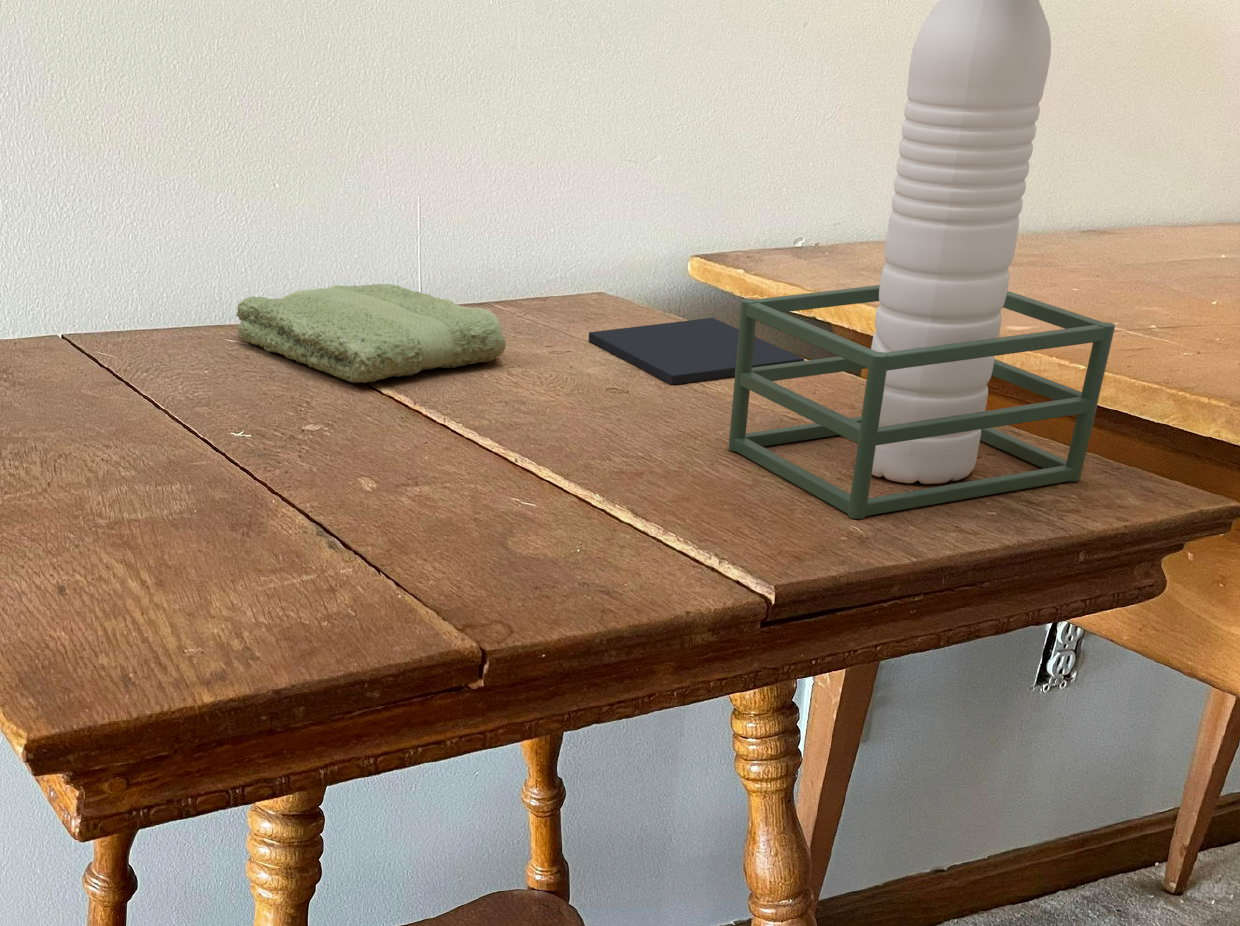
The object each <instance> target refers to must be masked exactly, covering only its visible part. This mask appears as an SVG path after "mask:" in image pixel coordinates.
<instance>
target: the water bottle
mask: <svg viewBox="0 0 1240 926" xmlns="http://www.w3.org/2000/svg"><path fill="white" fill-rule="evenodd" d="M1051 37H1052V36H1051V31H1050V26H1049V23H1048V19H1047V17H1046V15H1045V12H1044V10H1043V6H1042V4H1041V2H1040V0H938V1H937V2H936V4H935V5H934V7H933V8H932V10H931V11H930V12H929V14H928V15H927V17H926V19H925V20H924V22H923V23H922V24H921V26H920V29H919V30H918V33H917V35H916V38H915V39H914V43H913V47H912V50H911V54H910V55H911V56H910V61H909V68H908V80H907V89H906V97H907V101H906V102H905V105H904V112H903V114H904V118H905V119H904V120H903V122H902V125H901V135H902V139H901V140H900V142H899V147H898V154H899V155H900V156H899V158H898V159H897V162H896V172H897V175H896V176H895V178H894V184H893V189H894V193H893V196H892V198H891V208H892V211H891V213H890V214H889V219H888V225H887V230H886V236H885V244H884V259H885V264H883V267H882V270H881V274H880V281H879V285H880V287H879V301H878V302H879V305H878V307H877V308H876V312H875V317H874V327H875V332H874V333H873V336H872V340H871V347H870V349H872V350H874V351H877V352H884V353H885V352H893V351H901V350H908V349H916V348H923V347H931V346H939V345H946V344H954V343H961V342H969V341H977V340H984V339H992V338H999V337H1000V334H1001V327H1002V320H1003V319H1002V313H1001V311H1002V309H1003V306H1004V303H1005V299H1006V295H1007V291H1009V290H1008V289H1009V283H1010V271H1009V268H1010V266H1011V264H1012V263H1013V260H1014V257H1015V251H1016V246H1017V242H1018V241H1017V240H1018V234H1019V228H1020V227H1019V226H1020V217H1019V215H1020V214H1021V212H1022V209H1023V203H1024V201H1023V198H1022V197H1024V195H1025V193H1026V188H1027V181H1026V178H1027V177H1028V175H1029V172H1030V162H1029V160H1030V159H1031V157H1032V155H1033V150H1034V144H1033V141H1034V140H1035V138H1036V135H1037V134H1036V133H1037V125H1036V122H1037V121H1038V119H1039V117H1040V111H1041V107H1040V102H1041V101H1042V99H1043V96H1044V91H1045V87H1046V86H1045V85H1046V82H1047V78H1048V73H1049V68H1050V61H1051V56H1052V55H1051V54H1052V39H1051ZM994 359H995V356H990V357H983V358H976V359H968V360H961V361H954V362H946V363H939V364H932V365H924V366H917V367H910V368H902V369H895V370H888V371H887V372H886V379H885V386H884V393H883V400H882V407H881V414H880V420H879V427H882V426H889V425H895V424H902V423H909V422H915V421H922V420H929V419H935V418H942V417H949V416H955V415H962V414H969V413H975V412H982V411H986V407H987V403H988V397H989V386H988V384H989V382H990V381H991V378H992V371H993V365H994ZM980 437H981V429H980V430H973V431H967V432H960V433H954V434H947V435H941V436H935V437H928V438H922V439H915V440H909V441H902V442H896V443H889V444H883V445H876V448H875V455H874V462H873V468H872V475H871V476H874V477H876V478H883V477H884V478H885V479H886V480H888V481H891V482H898V483H904V484H913V483H916V482H917V481H918V482H919V483H920V484H923V485H936V484H937V485H938V484H939V485H940V484H944V483H945V484H946V483H947V482H950V481H952V482H953V481H955V482H956V481H960V480H962V479H964V478H967V477H969V475H970V474H971V473H972V472H973V471H974V469H975V466H976V465H977V464H976V463H977V458H978V451H979V447H980V442H981V440H980Z"/></svg>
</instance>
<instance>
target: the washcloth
mask: <svg viewBox="0 0 1240 926" xmlns="http://www.w3.org/2000/svg"><path fill="white" fill-rule="evenodd" d="M235 316H236V317H238V320H239V321H240V322H239V324H238V327H237V333H238V336H239V338H240V339H242V340H243V341H244V342H246V343H250V344H251V345H254V346H259V347H260V348H263V350H265V351H267V352H269V353H270V352H272V353H277V354H280V355H282V356H284V357H285V358H287V359H289V360H294V361H296V363H302V364H305V365H306V366H307V365H308V367H309V368H314V370H318V371H321V372H324V373H327V374H329V375H330V376H333V377H335V378H338V379H341V380H346V381H347V382H350V383H375V382H377V381H381V380H385V379H387V378H391V377H396V378H398V377H399V378H400V377H405V376H406V377H407V376H413V375H415V374H418V373H419V372H420V371H426V370H433V369H437V368H443V369H456V368H458V367H462V366H463V367H464V366H466V365H474V364H478V363H488V362H491V361H493V360H495V358H498V357H500V356H501V355H502V354H504V351H505V350H506V346H507V345H506V343H507V342H506V339H505V335H504V332H503V328H502V326H501V323H500V320H499V319H498V317H497V316H496V315H495V314H494V313H493V312H492V311H490V310H488V309H486V308H483V307H482V308H481V307H467V306H462V305H459V304H457V303H455V302H454V301H452V300H450V299H446V298H440V297H435V296H432V295H431V294H430V293H429V294H428V293H424V292H423V293H421V292H420V291H413V290H410V289H409V288H406V287H403V286H399V285H397V284H390V283H374V284H361V285H333V286H329V287H326V288H325V287H324V288H311V289H301V290H297V291H294V292H291V293H290V294H287V295H285V296H282V297H281V298H278V297H277V298H269V297H264V296H248V297H246V298H244V299H242V300H240V301H239V302H238V303H237V311H236V313H235Z"/></svg>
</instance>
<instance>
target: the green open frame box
mask: <svg viewBox="0 0 1240 926" xmlns="http://www.w3.org/2000/svg"><path fill="white" fill-rule="evenodd" d="M879 287H880V284H877V285H868V286H859V287H852V288H851V287H850V288H843V289H842V288H841V289H834V290H824V291H817V292H808V293H798V294H790V295H782V296H772V297H764V298H743V299H741V301H740V302H741V303H740V313H739V314H740V315H739V324H738V329H739V335H738V347H737V358H736V369H735V377H734V381H733V394H732V403H731V415H730V416H731V417H730V425H729V426H730V427H729V438H728V450H729V451H731V452H735V453H738V454H740V455H742V456H743V457H745V458H747V459H748V460H751V461H752V462H754V463H756V464H757V465H760V466H761V467H763V468H765V469H766V470H768V471H770V472H771V473H774V474H775V475H777V476H779V477H781V478H783V479H785V480H786V481H787V482H790V483H792V484H793V485H795V486H797V487H799V488H800V489H802V490H805V492H808V493H810V494H812V495H813V496H815V497H817V498H819V499H820V500H822V501H823V502H825V503H828V504H829V505H831V506H833V507H834V508H836V509H838V510H840V511H841V512H844V513H845V514H847V517H848V518H850V519H853V520H863V519H865V518H866V517H868V516H874V515H880V514H881V515H882V514H885V513H893V512H898V511H903V510H909V509H915V508H921V507H926V506H927V507H928V506H933V505H938V504H944V503H950V502H956V501H961V500H968V499H972V498H980V497H986V496H992V495H996V494H1002V493H1008V492H1014V491H1019V490H1026V489H1031V488H1037V487H1042V486H1043V487H1044V486H1049V485H1054V484H1060V483H1066V482H1071V483H1075V482H1076V483H1077V482H1079V481H1080V480H1081V477H1082V474H1083V469H1084V465H1085V461H1086V456H1087V453H1088V446H1089V442H1090V438H1091V434H1092V430H1093V424H1094V421H1095V417H1096V413H1097V408H1098V403H1099V400H1100V394H1101V390H1102V387H1103V386H1102V385H1103V382H1104V378H1105V373H1106V369H1107V365H1108V359H1109V354H1110V350H1111V347H1112V346H1111V345H1112V342H1113V337H1114V333H1115V329H1116V324H1114V323H1112V322H1108V321H1107V322H1105V321H1101V320H1098V319H1095V318H1092V317H1089V316H1085V315H1082V314H1080V313H1076V312H1074V311H1070V310H1068V309H1064V308H1062V307H1058V306H1055V305H1052V304H1049V303H1046V302H1043V301H1040V300H1037V299H1034V298H1031V297H1027V296H1024V295H1022V294H1018V293H1016V292H1013V291H1009V290H1007V295H1006V299H1005V303H1004V306H1003V307H1002V309H1006V310H1009V311H1011V312H1015V313H1018V314H1021V315H1024V316H1026V317H1029V318H1033V319H1035V320H1038V321H1041V322H1044V323H1047V324H1049V325H1050V324H1051V325H1052V326H1056V327H1059V328H1061V329H1054V330H1045V331H1037V332H1031V333H1024V334H1023V333H1022V334H1015V335H1007V336H1001V337H1000V336H999V338H992V339H984V340H977V341H969V342H961V343H954V344H946V345H939V346H931V347H923V348H916V349H908V350H901V351H893V352H885V353H884V352H877V351H874V350H872V349H871V347H870V348H869V347H868V346H865V345H862V344H860V343H857V342H855V341H852V340H850V339H847V338H846V337H843V336H840V335H838V334H836V333H833V332H830V331H828V330H826V329H823V328H821V327H820V326H819V327H818V326H816V325H813V324H811V323H809V322H806V321H804V320H802V319H799V318H797V317H794V316H792V315H789V314H787V313H790V312H799V311H807V310H816V309H817V310H818V309H825V308H832V307H842V306H849V305H856V304H857V305H858V304H866V303H875V302H880V301H879ZM757 322H759V323H760V324H764V326H765V325H766V326H767V327H770V328H772V329H774V330H777V331H779V332H782V333H784V334H787V335H788V336H791V337H793V338H795V339H798V340H800V341H803V342H805V343H807V344H810V345H812V346H814V347H816V348H819V349H821V350H823V351H826V352H828V353H831V354H833V355H835V356H832V357H825V358H824V357H823V358H816V359H807V360H804V361H800V362H792V363H785V364H777V365H770V366H762V367H754V368H752V362H753V351H754V341H755V337H756V328H757ZM1085 344H1092V345H1091V349H1090V354H1089V358H1088V363H1087V368H1086V371H1085V375H1084V381H1083V385H1082V390H1081V391H1080V390H1078V389H1074V388H1072V387H1069V386H1067V385H1064V384H1062V383H1059V382H1056V381H1054V380H1051V379H1049V378H1046V377H1043V376H1041V375H1038V374H1035V373H1033V372H1030V371H1028V370H1025V369H1022V368H1019V367H1017V366H1015V365H1012V364H1009V363H1007V362H1004V361H1001V360H999V359H996V358H994V365H993V371H992V375H991V377H994V378H997V379H1000V380H1002V381H1005V382H1007V383H1009V384H1012V385H1015V386H1017V387H1020V388H1022V389H1023V390H1024V389H1025V390H1027V391H1030V392H1031V393H1034V394H1037V395H1039V396H1042V397H1044V398H1047V399H1050V400H1051V401H1043V402H1036V403H1029V404H1023V405H1016V406H1015V405H1014V406H1009V407H1003V408H997V409H990V410H985V411H982V412H975V413H969V414H962V415H955V416H949V417H942V418H935V419H929V420H922V421H915V422H909V423H902V424H895V425H889V426H882V427H879V420H880V414H881V407H882V400H883V393H884V386H885V379H886V372H887V371H888V370H895V369H902V368H910V367H917V366H924V365H932V364H939V363H946V362H954V361H961V360H968V359H976V358H983V357H990V356H994V357H997V356H1005V355H1010V354H1011V355H1012V354H1018V353H1019V354H1020V353H1026V352H1033V351H1035V352H1036V351H1041V350H1042V351H1043V350H1048V349H1049V350H1050V349H1056V348H1065V347H1070V346H1077V345H1085ZM865 369H867V372H866V381H865V388H864V395H863V402H862V410H861V415H859V416H854V417H848V416H846V415H843V414H841V413H840V412H837V411H835V410H833V409H831V408H829V407H827V406H825V405H822V404H820V403H818V402H816V401H814V400H812V399H810V398H808V397H806V396H804V395H802V394H800V393H797V392H795V391H793V390H791V389H789V388H787V387H785V386H783V385H781V384H778V383H776V382H777V381H784V380H791V379H798V378H799V379H800V378H807V377H814V376H821V375H829V374H836V373H843V372H851V371H858V370H865ZM751 392H753V393H755V394H757V395H758V396H760V397H762V398H765V399H767V400H768V401H771V402H773V403H775V404H777V405H778V406H781V407H783V408H785V409H787V410H789V411H791V412H793V413H795V414H797V415H798V416H800V417H803V418H805V419H807V420H809V421H811V423H808V424H807V423H806V424H800V425H792V426H785V427H779V428H773V429H771V428H770V429H766V430H765V429H764V430H759V431H750V432H747V424H748V416H749V415H748V413H749V405H750V393H751ZM1069 416H1076V417H1075V421H1074V426H1073V429H1072V436H1071V439H1070V444H1069V448H1068V454H1067V458H1066V459H1065V458H1063V457H1060V456H1058V455H1057V454H1054V453H1051V452H1049V451H1047V450H1044V449H1043V448H1040V447H1038V446H1035V445H1033V444H1030V443H1028V442H1026V441H1024V440H1022V439H1019V438H1017V437H1015V436H1012V435H1010V434H1008V433H1005V432H1003V431H1000V430H999V429H996V428H998V427H1004V426H1011V425H1017V424H1024V423H1032V422H1038V421H1044V420H1051V419H1056V418H1057V419H1058V418H1062V417H1063V418H1064V417H1069ZM812 422H813V423H812ZM980 429H981V437H980V442H983V443H986V444H987V445H990V446H992V447H994V448H997V449H999V450H1000V451H1003V452H1006V453H1007V454H1010V455H1013V456H1015V457H1017V458H1019V459H1021V460H1024V461H1026V462H1028V463H1030V464H1032V465H1035V466H1037V467H1039V468H1041V469H1036V470H1035V469H1034V470H1029V471H1023V472H1017V473H1010V474H1005V475H998V476H993V477H987V478H981V479H974V480H969V481H962V482H957V483H951V484H945V485H939V486H934V487H928V488H922V489H915V490H909V491H904V492H898V493H892V494H885V495H879V496H874V497H869V495H870V489H871V482H872V476H873V475H872V468H873V462H874V455H875V448H876V445H883V444H889V443H896V442H902V441H909V440H915V439H922V438H928V437H935V436H941V435H947V434H954V433H960V432H967V431H973V430H980ZM836 436H842V437H844V438H846V439H848V440H849V441H852V442H853V443H856V444H857V447H856V453H855V461H854V467H853V468H854V469H853V475H852V483H851V489H850V493H849V492H847V491H845V490H843V489H841V488H839V487H838V486H836V485H834V484H832V483H830V482H829V481H827V480H825V479H823V478H821V477H819V476H817V475H816V474H814V473H812V472H810V471H808V470H806V469H805V468H803V467H801V466H799V465H797V464H795V463H793V462H792V461H790V460H788V459H786V458H784V457H782V456H780V455H779V454H776V453H775V452H773V451H771V450H769V449H767V448H765V447H769V446H775V445H781V444H789V443H795V442H801V441H802V442H803V441H810V440H817V439H823V438H828V437H829V438H830V437H836Z"/></svg>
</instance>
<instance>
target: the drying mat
mask: <svg viewBox="0 0 1240 926" xmlns="http://www.w3.org/2000/svg"><path fill="white" fill-rule="evenodd" d="M738 335H739V328H737V327H735V326H732V325H730V324H728V323H725V322H723V321H721V320H719V319H716V318H714V317H707V318H700V319H699V318H698V319H689V320H682V321H671V322H664V323H656V324H647V325H638V326H630V327H622V328H614V329H613V328H612V329H604V330H597V331H589V332H588V341H589V342H590V343H592V344H594V345H595V346H597V347H599V348H601V349H603V350H605V351H607V352H609V353H611V354H613V355H614V356H616V357H618V358H620V359H622V360H624V361H626V362H627V363H630V364H632V365H633V366H635V367H637V368H639V369H641V370H643V371H645V372H647V373H649V374H651V375H653V376H654V377H656V378H658V379H660V380H662V381H663V382H665V383H668V384H670V385H672V386H673V385H674V386H675V385H682V384H688V383H696V382H697V383H698V382H703V381H711V380H718V379H726V378H727V379H728V378H735V369H736V358H737V347H738ZM800 361H805V358H804V357H802V356H800V355H798V354H795V353H794V352H791V351H789V350H787V349H785V348H781V347H780V346H778V345H775V344H773V343H770V342H769V341H766V340H764V339H761V338H759V337H757V336H755V341H754V351H753V362H752V368H754V367H762V366H770V365H777V364H785V363H792V362H800Z"/></svg>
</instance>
